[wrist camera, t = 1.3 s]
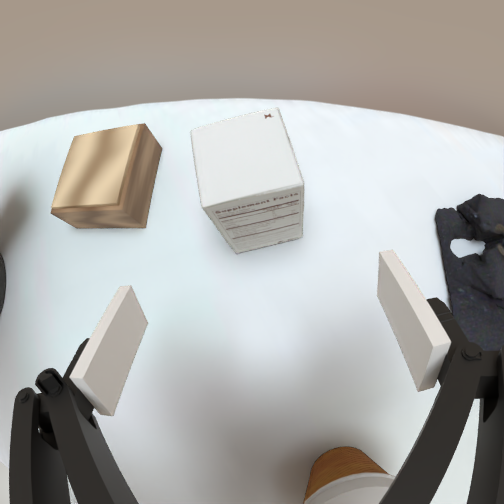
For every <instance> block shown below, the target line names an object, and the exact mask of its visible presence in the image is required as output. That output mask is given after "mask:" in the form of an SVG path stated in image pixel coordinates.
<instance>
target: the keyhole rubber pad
mask: <svg viewBox="0 0 504 504" xmlns="http://www.w3.org/2000/svg"><path fill="white" fill-rule="evenodd" d="M457 208H458V210H457V211H456V210H455V209H454V208H449V209H446V208H443V209H438V210H437V214H436V216H435V219H436V221H437V226H438V233H439V236H440V238H441V246H442V252H443V258H444V267H445V271H446V272H447V274H446V279H447V283H448V286H449V288H448V289H449V292H450V299H451V302H452V307H453V317H454V319H455V320H456V321H457V323H458V324H459V326H460V328H461V329H462V331H463V332H464V334H465V336H466V337H467V339H468V341H469V342H474V343H476V344H478V345H479V346H480V347H481V348H482V349H483V350H484V351H499V350H501V348H502V346H503V345H504V199H501V198H488V197H486V196H484V195H481V194H478V195H476V196H474V197H473V198H472V199H470V200H467V201H465V202H464V203H463V204H460V205H458V206H457ZM459 212H460V213H459ZM460 238H462V239H463V238H464V239H466V240H469V241H470V240H472V239H473V238H475V240H478V241H484V242H485V243H486V244H485V250H484V251H483V254H482V255H480V256H479V255H478V254H476V253H475V254H472V255H467V256H465V257H462V258H458V257H457V256H456V255H455V254H453V252H452V251H451V249H450V244H451V241H452V240H453V239H460Z"/></svg>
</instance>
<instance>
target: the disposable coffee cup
mask: <svg viewBox="0 0 504 504" xmlns="http://www.w3.org/2000/svg"><path fill="white" fill-rule="evenodd" d="M395 477H396V476H393V475H389V474H388V473H387V472H386V471H384V470H383V469H382V468H381V467H380V466H379V465H377V464H376V463H375V462H374V461H373V460H371V459H370V458H369V457H368V456H367V455H366V454H365V453H363V452H362V451H361V450H358V449H356V448H353V447H338V448H334V449H332V450H329V451H327V452H326V453H324V454H323V455H321V456H320V457H319V458H318V459H317V460H316V461H315V463H314V465H313V467H312V469H311V474H310V478H309V482H308V486H307V490H306V494H305V498H304V502H303V504H379V502H380V501H381V499H382V498H383V496H384V495H385V493H386V492H387V490H388V489H389V487H390V485H391V484H392V482H393V481H394V479H395Z"/></svg>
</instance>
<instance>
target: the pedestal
mask: <svg viewBox="0 0 504 504" xmlns="http://www.w3.org/2000/svg"><path fill="white" fill-rule="evenodd" d="M161 151H162V147H161V146H160V145H159V143H158V142H157V140H156V139H155V137H154V136H153V134H152V133H151V131H150V130H149V129H148V127H147V126H146V124H145V123H144V124H137V125H131V126H125V127H119V128H113V129H108V130H103V131H97V132H93V133H88V134H83V135H79V136H74V139H73V141H72V144H71V147H70V149H69V152H68V155H67V158H66V161H65V164H64V166H63V169H62V173H61V176H60V179H59V182H58V185H57V189H56V192H55V195H54V199H53V203H52V206H51V208H52V210H51V214H53V215H54V216H56V217H58V218H59V219H61V220H63V221H65V222H66V223H68V224H70V225H72V226H73V227H75V228H146V223H147V218H148V212H149V207H150V202H151V197H152V192H153V187H154V182H155V178H156V173H157V169H158V164H159V160H160V156H161Z"/></svg>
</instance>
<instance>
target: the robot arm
mask: <svg viewBox="0 0 504 504" xmlns="http://www.w3.org/2000/svg"><path fill="white" fill-rule="evenodd" d="M4 295H5V267H4V262H3V259H2V256H1V254H0V313H1V309H2V305H3V301H4ZM377 297H378V299H379V301H380V303H381V305H382V307H383V310H384V312H385V314H386V316H387V318H388V321H389V323H390V325H391V327H392V330H393V332H394V334H395V336H396V339H397V341H398V343H399V346H400V348H401V351H402V353H403V355H404V358H405V360H406V363H407V365H408V368H409V370H410V373H411V375H412V378H413V380H414V383H415V385H416V388H417V391H418V392H420V391H423V390H427V389H430V388H433V387H434V386H435V384H436V382H437V379H438V381H439V383H440V385H441V387H440V390H439V392H438V394H437V396H436V398H435V402H434V404H433V406H432V408H431V411H430V413H429V415H428V417H427V419H426V421H425V424H424V426H423V428H422V430H421V432H420V434H419V436H418V438H417V440H416V442H415V444H414V446H413V447H412V449H411V451H410V453H409V455H408V457H407V458H406V460H405V462H404V464H403V466H402V467H401V469H400V471H399V472H398V474H397V476H396V477H395V479H394V481H393V482H392V484H391V485H390V487H389V489H388V490H387V492H386V493H385V495H384V496H383V498H382V499H381V501H380V502H379V504H430V502H431V500H432V499H433V497H434V495H435V493H436V491H437V489H438V487H439V485H440V483H441V481H442V479H443V477H444V475H445V473H446V471H447V468H448V466H449V464H450V462H451V460H452V457H453V455H454V453H455V450H456V448H457V445H458V443H459V440H460V438H461V435H462V433H463V430H464V427H465V424H466V422H467V419H468V416H469V413H470V410H471V407H472V404H473V401H474V399H480V410H479V426H478V437H477V447H476V455H475V462H474V469H473V475H472V481H471V486H470V491H469V496H468V500H467V504H504V345H503V346H502V348H501V350H499V351H484V350H483V349H482V348H481V347H480V346H479V345H478V344H476V343H474V342H469V341H468V339H467V337H466V336H465V334H464V332H463V331H462V329H461V328H460V326H459V324H458V323H457V321H456V320H455V319H454V317H453V315H452V313H450V310H449V309H448V307H447V306H446V304H445V303H444V302H442V301H441V300H439V299H438V298H437V297H436V298H432V299H427V300H426V299H425V297H424V295H423V294H422V292H421V291H420V289H419V288H418V286H417V285H416V283H415V282H414V280H413V278H412V277H411V275H410V274H409V272H408V271H407V269H406V268H405V267H404V265H403V264H402V262H401V261H400V259H399V258H398V256H397V255H396V253H395V252H394V251H393V250H389V251H383V252H379V271H378V288H377ZM147 325H148V322H147V320H146V317H145V315H144V313H143V311H142V309H141V307H140V304H139V302H138V300H137V298H136V295H135V293H134V291H133V289H132V286H131V285H130V286H121V287H119V288H118V290H117V292H116V293H115V295H114V297H113V299H112V300H111V302H110V304H109V305H108V307H107V309H106V310H105V312H104V314H103V316H102V317H101V319H100V321H99V323H98V325H97V326H96V328H95V330H94V332H93V334H92V335H91V337H90V338H87V339H86V340H85V341H84V342H83V343H82V344H81V345H80V346H79V348H78V350H77V352H76V354H75V355H74V357H73V360H72V361H71V363H70V365H69V367H68V369H67V370H66V372H65V374H64V376H63V378H62V377H61V376H60V374H59V373H58V372H57V370H55V369H53V368H48V369H46V370H44V371H42V372H41V373H40V374H39V375H38V377H37V379H36V382H35V385H36V386H37V387H38V388H39V390H40V391H41V392H42V393H38V394H36V393H35V392H34V390H33V389H32V388H29V387H28V388H24V389H22V390H21V391H19V393H18V394H17V396H16V398H15V403H14V411H13V419H12V429H11V442H10V462H9V494H10V504H71V502H70V496H69V489H68V480H67V476H68V479H69V482H70V484H71V487H72V489H73V492H74V495H75V497H76V500H77V502H78V504H138V502H137V500H136V499H135V497H134V495H133V493H132V492H131V490H130V488H129V486H128V485H127V483H126V481H125V479H124V477H123V475H122V473H121V472H120V470H119V468H118V466H117V464H116V462H115V460H114V458H113V456H112V454H111V452H110V450H109V447H108V445H107V443H106V441H105V439H104V437H103V434H102V432H101V430H100V428H99V425H98V423H97V421H96V418H95V416H94V415H93V414H92V411H93V409H94V408H95V409H96V410H97V411H98V413H99V414H100V415H107V416H114V413H115V410H116V407H117V404H118V401H119V398H120V396H121V393H122V390H123V387H124V385H125V382H126V379H127V377H128V374H129V371H130V369H131V366H132V363H133V361H134V358H135V355H136V353H137V350H138V348H139V345H140V343H141V340H142V338H143V335H144V333H145V330H146V328H147ZM38 428H39V430H38Z"/></svg>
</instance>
